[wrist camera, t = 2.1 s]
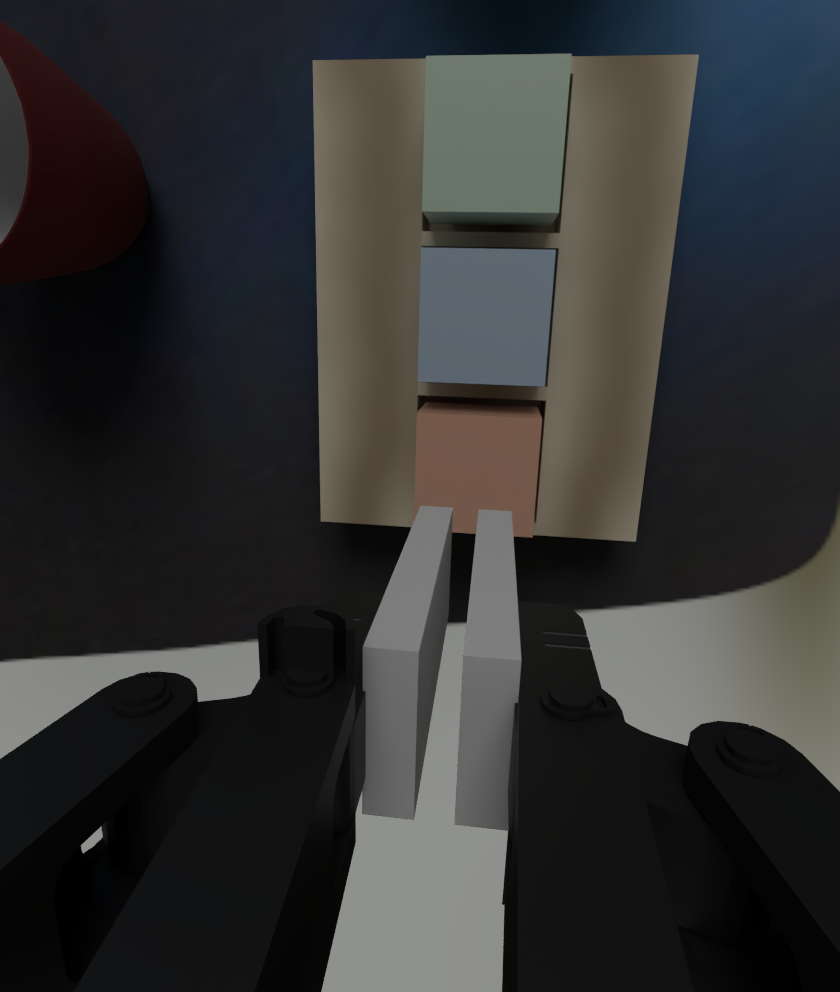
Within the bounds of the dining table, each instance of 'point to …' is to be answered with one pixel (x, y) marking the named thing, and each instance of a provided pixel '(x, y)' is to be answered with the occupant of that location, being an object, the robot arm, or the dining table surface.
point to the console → (574, 235)
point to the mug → (60, 172)
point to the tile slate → (485, 315)
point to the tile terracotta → (478, 462)
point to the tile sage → (494, 138)
